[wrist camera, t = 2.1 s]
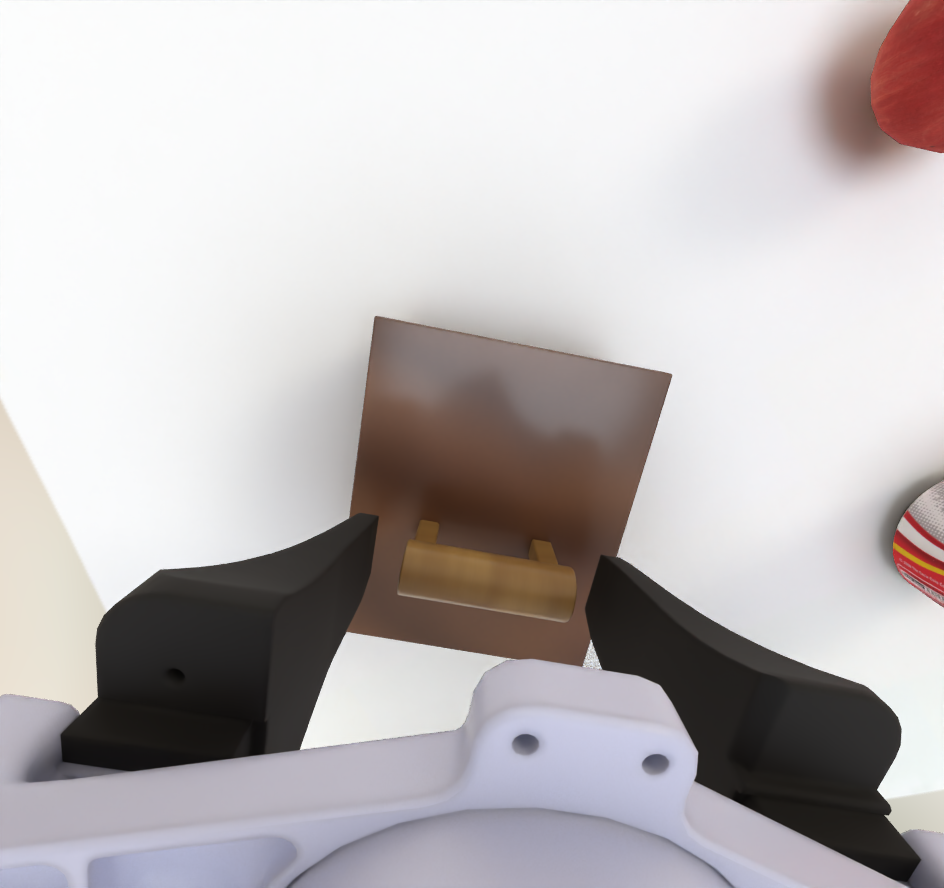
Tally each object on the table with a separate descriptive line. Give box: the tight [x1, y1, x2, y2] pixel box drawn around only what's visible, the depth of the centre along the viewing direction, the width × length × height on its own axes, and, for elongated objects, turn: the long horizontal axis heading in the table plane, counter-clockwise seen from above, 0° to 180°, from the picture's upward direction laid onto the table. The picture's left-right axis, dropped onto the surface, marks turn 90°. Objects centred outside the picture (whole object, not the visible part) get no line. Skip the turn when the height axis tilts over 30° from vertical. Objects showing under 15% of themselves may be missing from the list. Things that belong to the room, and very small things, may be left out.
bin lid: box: [346, 316, 672, 667], centre depth 14 cm, size 12×10×4 cm
